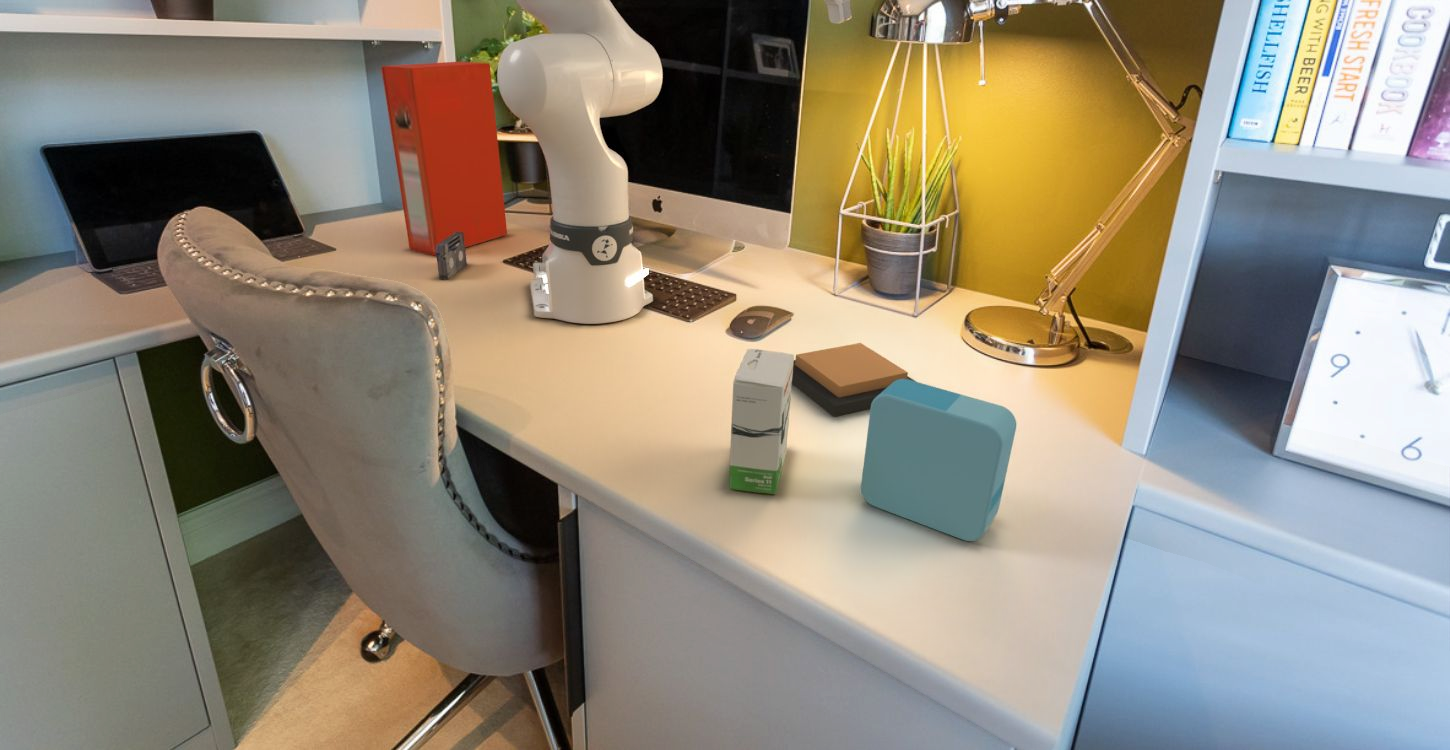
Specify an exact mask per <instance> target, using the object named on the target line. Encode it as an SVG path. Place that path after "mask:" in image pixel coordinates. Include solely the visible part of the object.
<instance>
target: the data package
mask: <svg viewBox="0 0 1450 750" xmlns="http://www.w3.org/2000/svg"><path fill="white" fill-rule="evenodd" d="M915 381H916V380H915ZM915 381H912V380H908V379H898V380H896V381H894V382H893V383H892V384H891V385H889V386H888V387H887V388H886V389H885V390H884V391H883V392H881V393H880V394H879V395H878V396H877V397H876V398H875V399H874V400H873V401H872V404H871V409H869V417H868V426H867V436H866V443H865V449H864V452H865V453H864V459H863V465H862V474H861V475H862V476H861V483H860V493H861V495H862V497H863V498H864V500H865V501H866V502H867V503H868V504H869V505H870V506H872V507H874V508H877V509H880V510H883V511H886V512H888V513H891V514H892V515H893V514H894V515H896V516H899V517H901V518H904V519H907V520H909V521H912V522H915V523H917V524H920V525H923V526H925V527H928V528H930V529H934V530H936V531H938V532H941V533H943V534H946V535H949V536H952V537H954V538H956V539H960V540H963V541H966V542H975V541H978V540H980V539H981V538H982V537H984V535H985V533H986V532H987V530H988V528H989V527H990V525H991V524H992V522H993V521H994V519H995V517H996V516H997V515H998V512H999V509H1000V505H1001V500H1002V496H1003V490H1004V486H1005V482H1006V476H1007V472H1008V467H1009V463H1010V458H1011V454H1012V448H1013V445H1014V440H1015V436H1016V431H1017V419H1016V417H1015V415H1014V414H1013V413H1012V412H1011V410H1010V409H1008V408H1007V407H1005V406H1002V405H999V404H996V403H993V402H989V401H987V400H982V399H979V398H975V397H971V396H969V395H965V394H961V393H957V392H954V391H951V390H947V389H943V388H941V387H940V388H939V387H936V386H933V385H930V384H925V383H922V382H918V381H916V382H915Z"/></svg>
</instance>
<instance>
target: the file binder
mask: <svg viewBox="0 0 1450 750" xmlns="http://www.w3.org/2000/svg"><path fill="white" fill-rule="evenodd" d="M380 71H381V75H382V81H383V89H384V95H385V101H386V108H387V114H388V120H389V126H390V127H389V128H390V134H391V139H392V145H393V146H392V147H393V151H394V158H395V164H396V170H397V178H398V183H399V190H400V196H401V203H402V209H403V215H404V222H405V228H406V234H407V240H408V246H409V250H410V251H414V252H419V253H423V254H427V255H430V256H431V255H432V256H435V257H436V245H437V244H439V243H440V242H442V241H443V240H445V239H446V238H448V237H449V236H451V235H452V234H454V233H455V232H463V236H464V244H465V248H469V247H471V246H475V245H478V244H482V243H485V242H488V241H491V240H494V239H498V238H501V237H505V236H507V235H508V228H507V227H508V226H507V218H506V209H505V199H504V189H503V188H504V187H503V179H502V169H501V168H502V167H501V160H500V149H499V140H498V131H497V121H496V111H495V102H494V92H493V82H492V71H491V64H490V63H488V62H475V61H474V62H473V61H446V62H430V63H427V62H426V63H412V64H393V65H381V66H380Z"/></svg>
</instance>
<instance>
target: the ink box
mask: <svg viewBox="0 0 1450 750" xmlns="http://www.w3.org/2000/svg"><path fill="white" fill-rule="evenodd" d="M794 360H795V355H794V354H793V353H787V352H781V351H780V352H779V351H774V350H773V351H772V350H766V349H760V348H747V349H746V351H745V354H744V355H743V358H742V361H741V362H740V364H739V367H738V369H737V371H736V373H735V375H734V379H733V382H732V384H733V385H732V402H731V403H732V404H731V425H730V426H731V427H730V448H729V449H730V451H729V474H728V475H729V477H728V478H729V480H728V482H729V483H728V486H729V488H730V489H731V490H734V491H743V492H751V493H759V494H769V495H770V494H771V495H776V494H777V492H778V487H779V484H780V481H781V480H780V479H781V475H782V471H783V467H784V464H785V459H786V455H787V449H788V436H789V426H790V425H789V424H790V413H791V412H790V410H791V397H792V387H793V386H792V385H793V384H792V374H793V362H794Z"/></svg>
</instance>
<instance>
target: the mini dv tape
mask: <svg viewBox="0 0 1450 750" xmlns="http://www.w3.org/2000/svg"><path fill="white" fill-rule="evenodd" d="M435 257H436V264H437V272H438V279H439V280H450V279H451V278H452V277H454V276H455V275H456V274H458V273H459V272H460V271H461V270H463V269H465V267H467V265H468V262H467V254H466V247H465V244H464V236H463V232H455V233H454V234H452V235H451V236H449V237H448V238H446V239H445V240H443V241H442V242H440V243H439V244H437V245H436V256H435Z"/></svg>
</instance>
